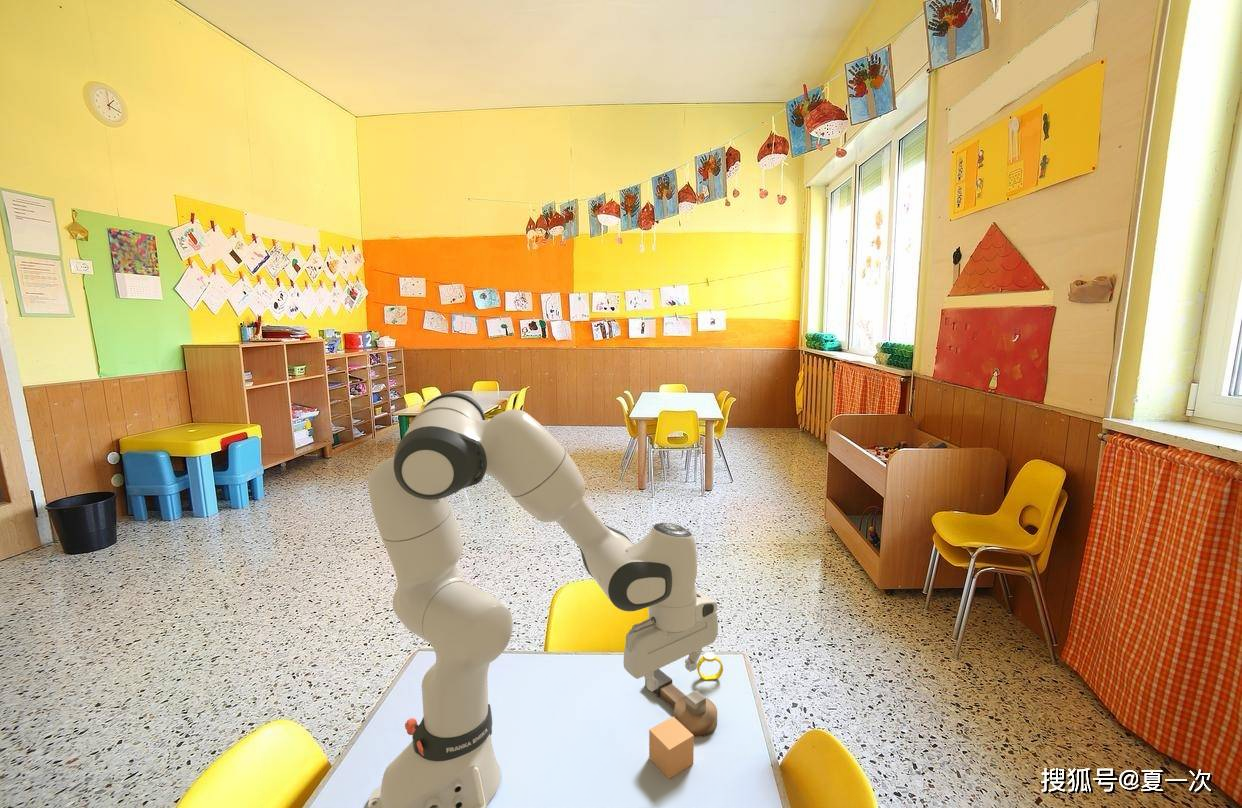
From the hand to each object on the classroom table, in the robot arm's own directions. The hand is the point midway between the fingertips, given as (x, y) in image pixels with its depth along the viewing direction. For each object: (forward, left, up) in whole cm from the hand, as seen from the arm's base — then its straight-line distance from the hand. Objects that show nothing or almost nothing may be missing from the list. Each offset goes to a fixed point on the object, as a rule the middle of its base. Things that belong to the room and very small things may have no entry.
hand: (672, 678), depth 98 cm
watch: (+23, +13, -18) cm, 32 cm away
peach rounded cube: (0, 0, -17) cm, 17 cm away
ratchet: (+11, +10, -17) cm, 23 cm away
